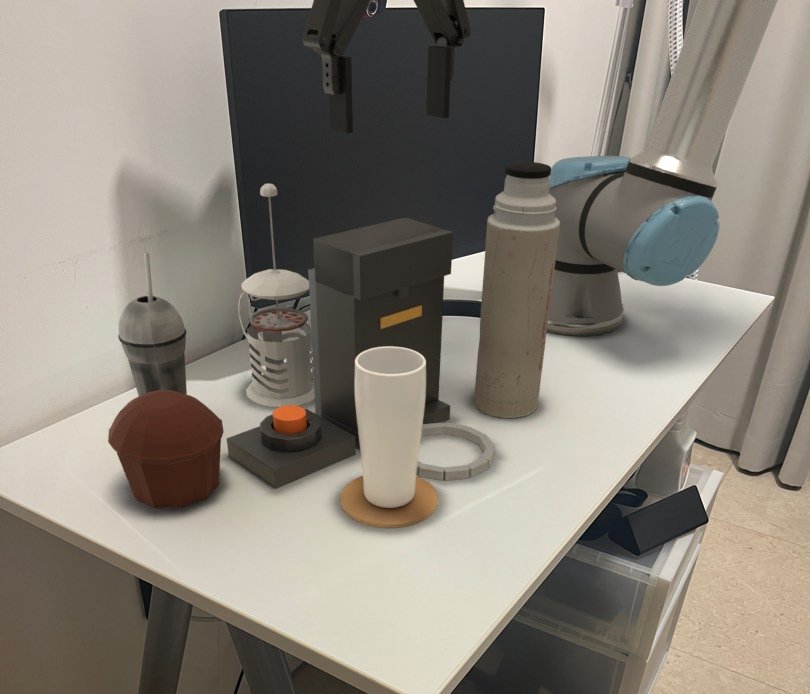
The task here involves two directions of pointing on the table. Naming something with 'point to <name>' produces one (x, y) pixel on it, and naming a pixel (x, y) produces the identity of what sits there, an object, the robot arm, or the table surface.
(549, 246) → the thermos bottle
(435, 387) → the coffee maker
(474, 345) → the table surface
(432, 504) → the disc
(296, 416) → the power button
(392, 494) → the drinking glass
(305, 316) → the french press
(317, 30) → the robot arm
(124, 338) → the beverage cup
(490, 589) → the table surface
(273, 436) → the power switch
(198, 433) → the muffin
